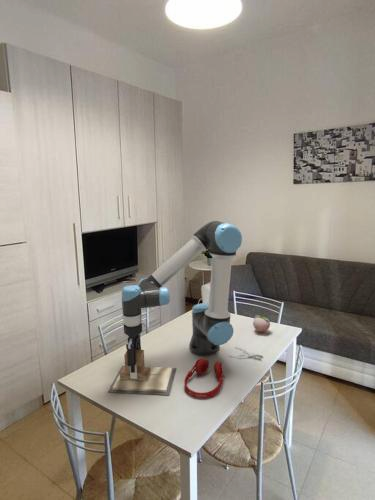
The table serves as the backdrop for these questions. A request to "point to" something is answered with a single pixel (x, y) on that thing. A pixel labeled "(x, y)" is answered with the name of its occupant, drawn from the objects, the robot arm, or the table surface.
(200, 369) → the headphones
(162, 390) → the board
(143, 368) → the stepped wooden block
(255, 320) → the decorative fruit
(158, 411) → the table surface
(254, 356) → the pliers
